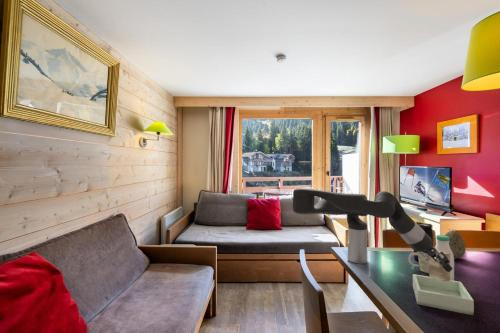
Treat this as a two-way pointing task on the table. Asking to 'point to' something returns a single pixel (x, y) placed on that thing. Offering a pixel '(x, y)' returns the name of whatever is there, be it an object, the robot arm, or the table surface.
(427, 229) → the portable speaker
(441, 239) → the milk bottle
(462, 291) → the bin
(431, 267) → the birch block
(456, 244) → the decorative egg
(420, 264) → the mug
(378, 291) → the table surface
